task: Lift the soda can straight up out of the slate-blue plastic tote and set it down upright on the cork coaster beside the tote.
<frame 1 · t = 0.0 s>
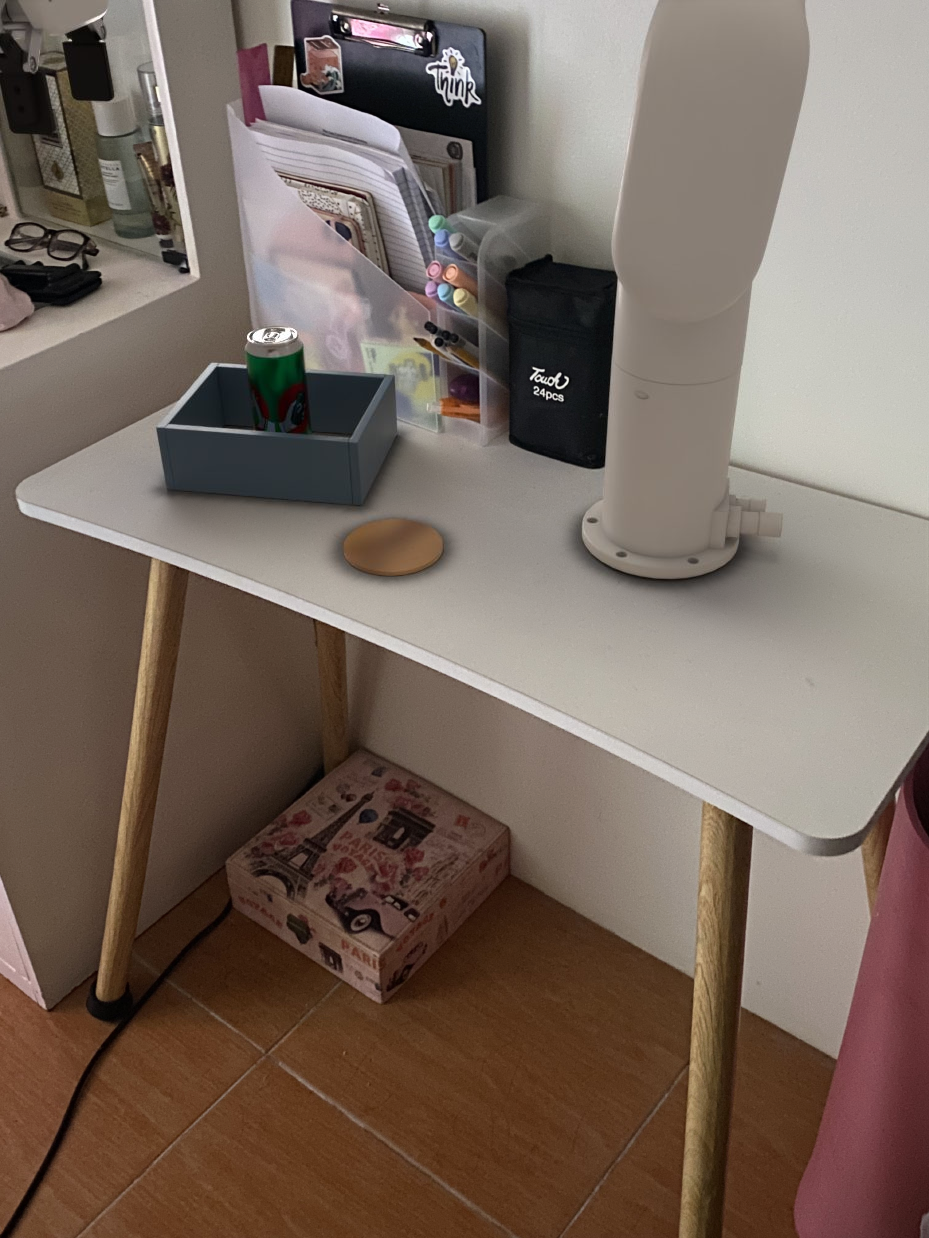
hand: (65, 116, 88), 31 cm above the table, tool pointing down, fingers open, 9 cm apart
soda can: (286, 462, 111), resting in tote
tote: (286, 460, 111), on the table
coaster: (393, 548, 98), on the table
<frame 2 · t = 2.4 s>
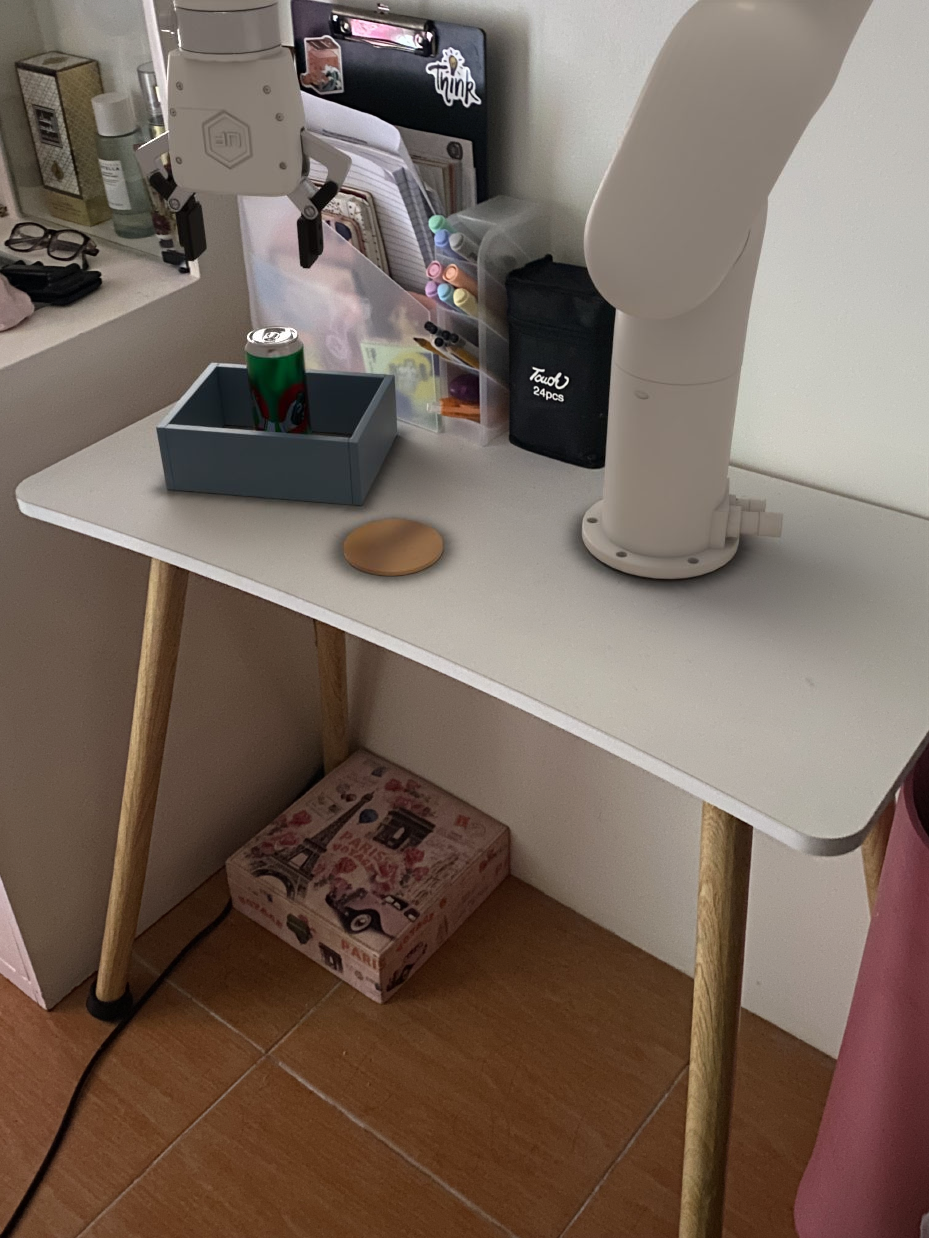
hand: (252, 259, 100), 19 cm above the table, tool pointing down, fingers open, 9 cm apart
nothing on the table moved.
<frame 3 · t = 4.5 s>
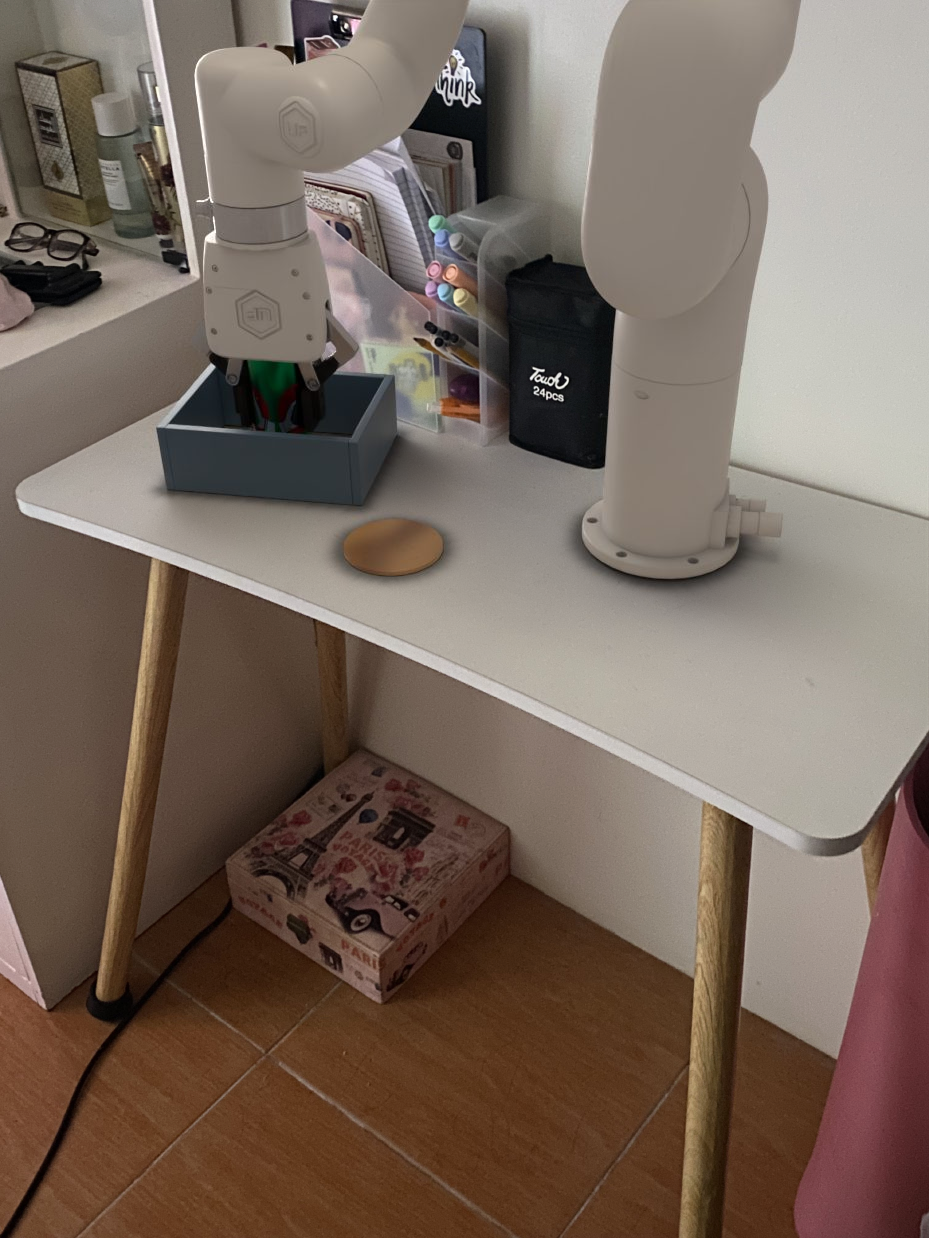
hand: (282, 421, 109), 4 cm above the table, tool pointing down, fingers closed on soda can, 5 cm apart
soda can: (286, 462, 111), resting in tote, touching gripper
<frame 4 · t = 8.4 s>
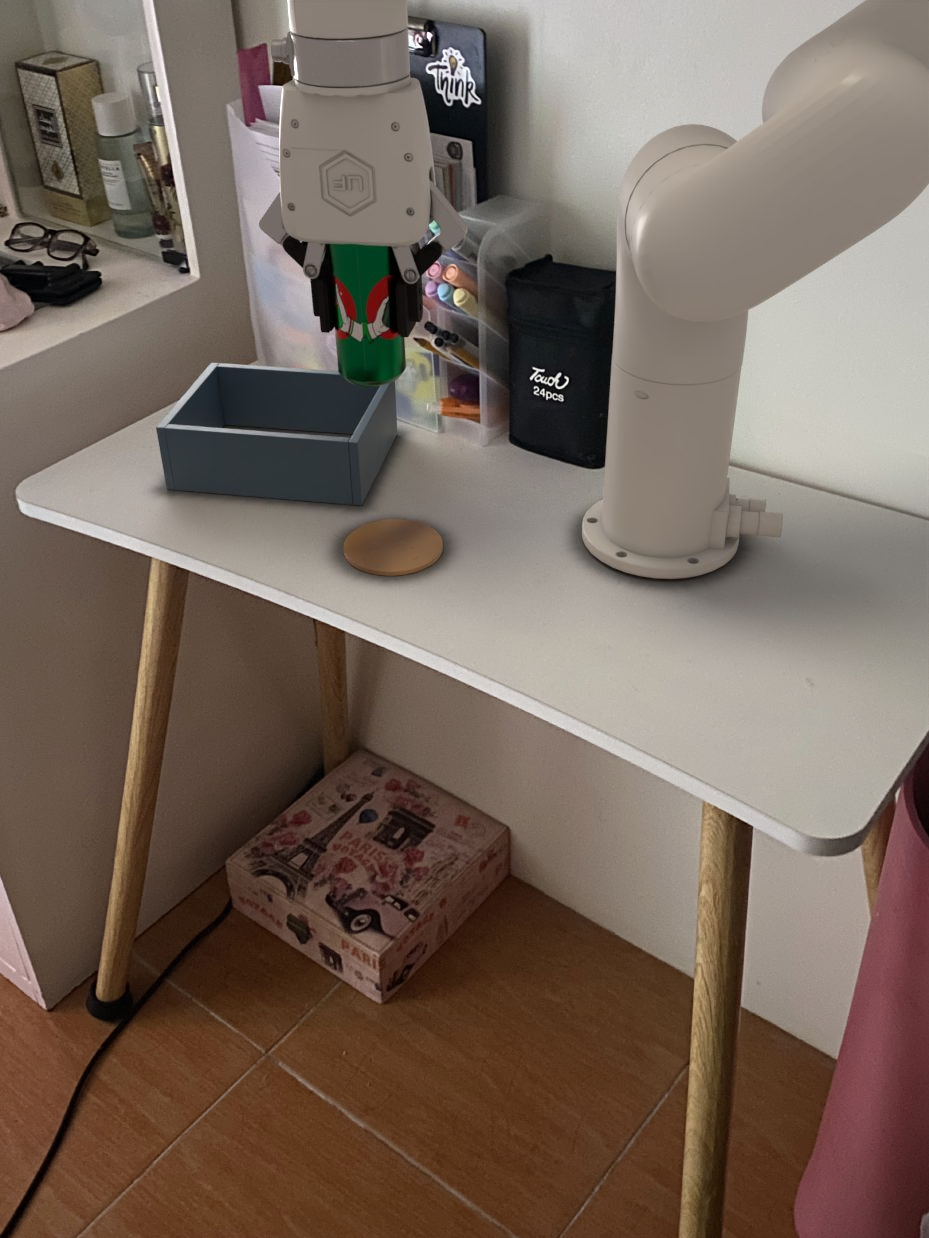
hand: (369, 325, 89), 18 cm above the table, tool pointing down, fingers closed on soda can, 5 cm apart
soda can: (372, 377, 92), point 14 cm above the table, touching gripper
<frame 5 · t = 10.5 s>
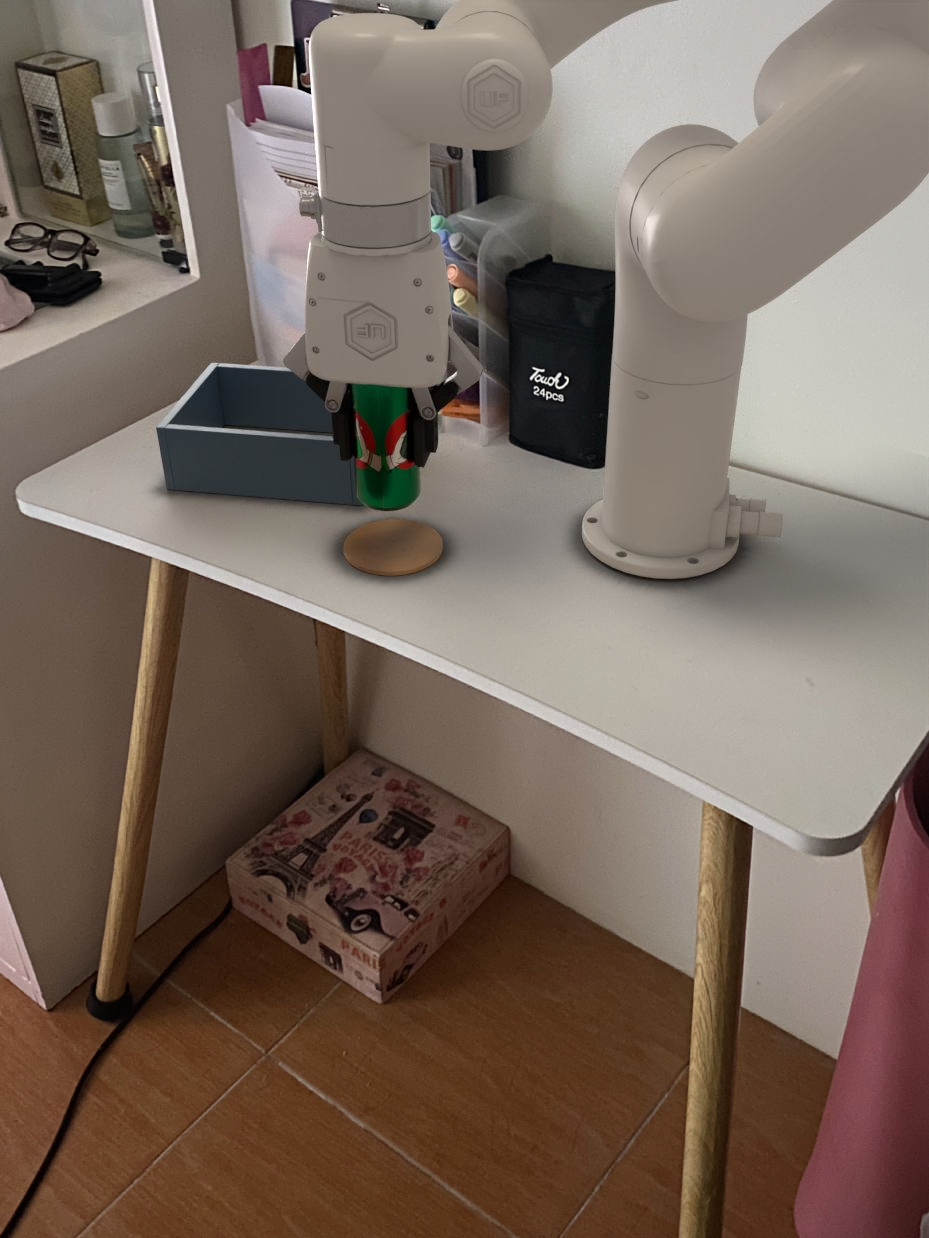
hand: (386, 453, 93), 9 cm above the table, tool pointing down, fingers closed on soda can, 5 cm apart
soda can: (388, 500, 96), point 4 cm above the table, touching gripper
when the fingers open (4 cm above the table, at t = 12.1 s): soda can stays where it is, resting on coaster.
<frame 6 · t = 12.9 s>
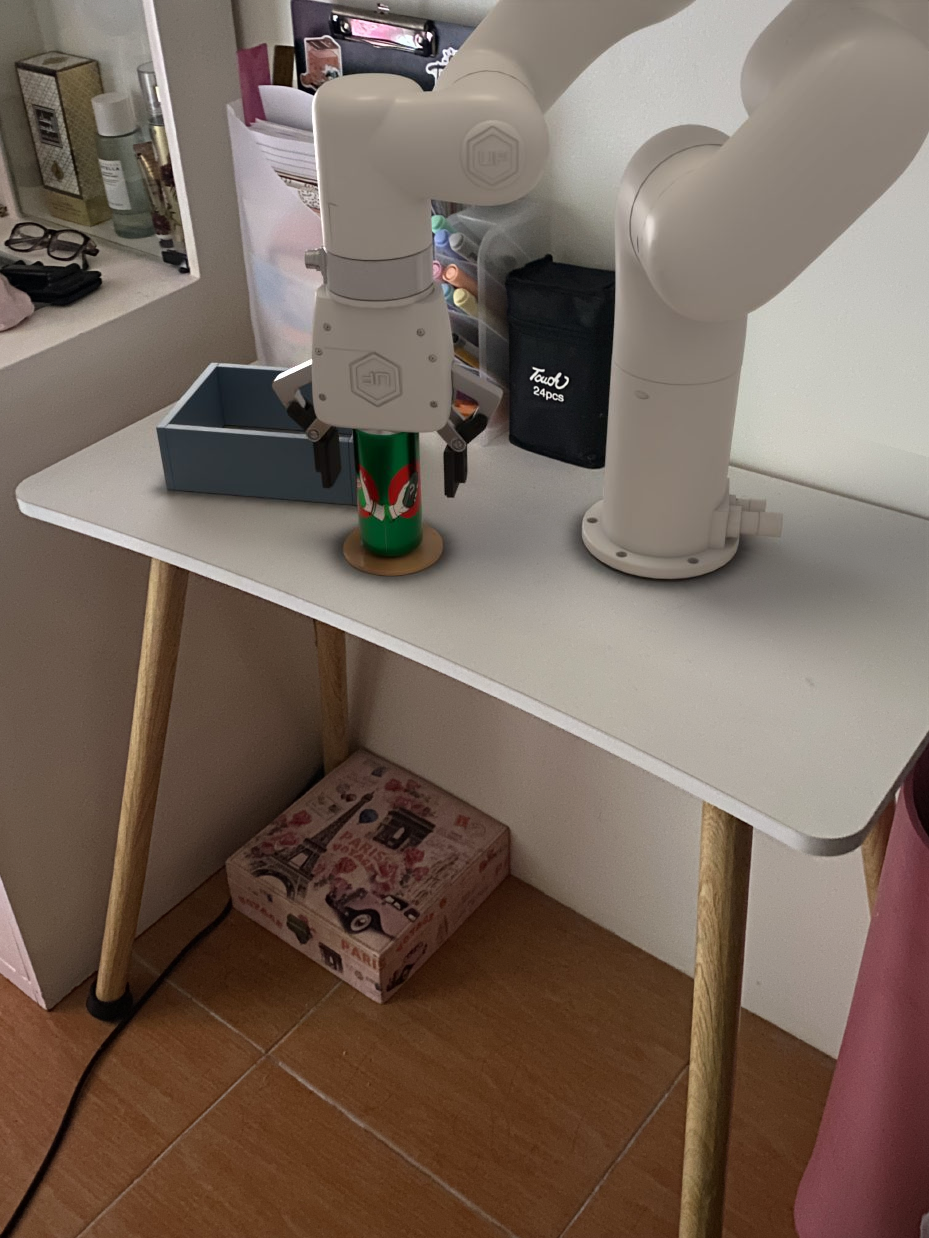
hand: (392, 484, 95), 6 cm above the table, tool pointing down, fingers open, 9 cm apart
soda can: (391, 546, 98), resting on coaster
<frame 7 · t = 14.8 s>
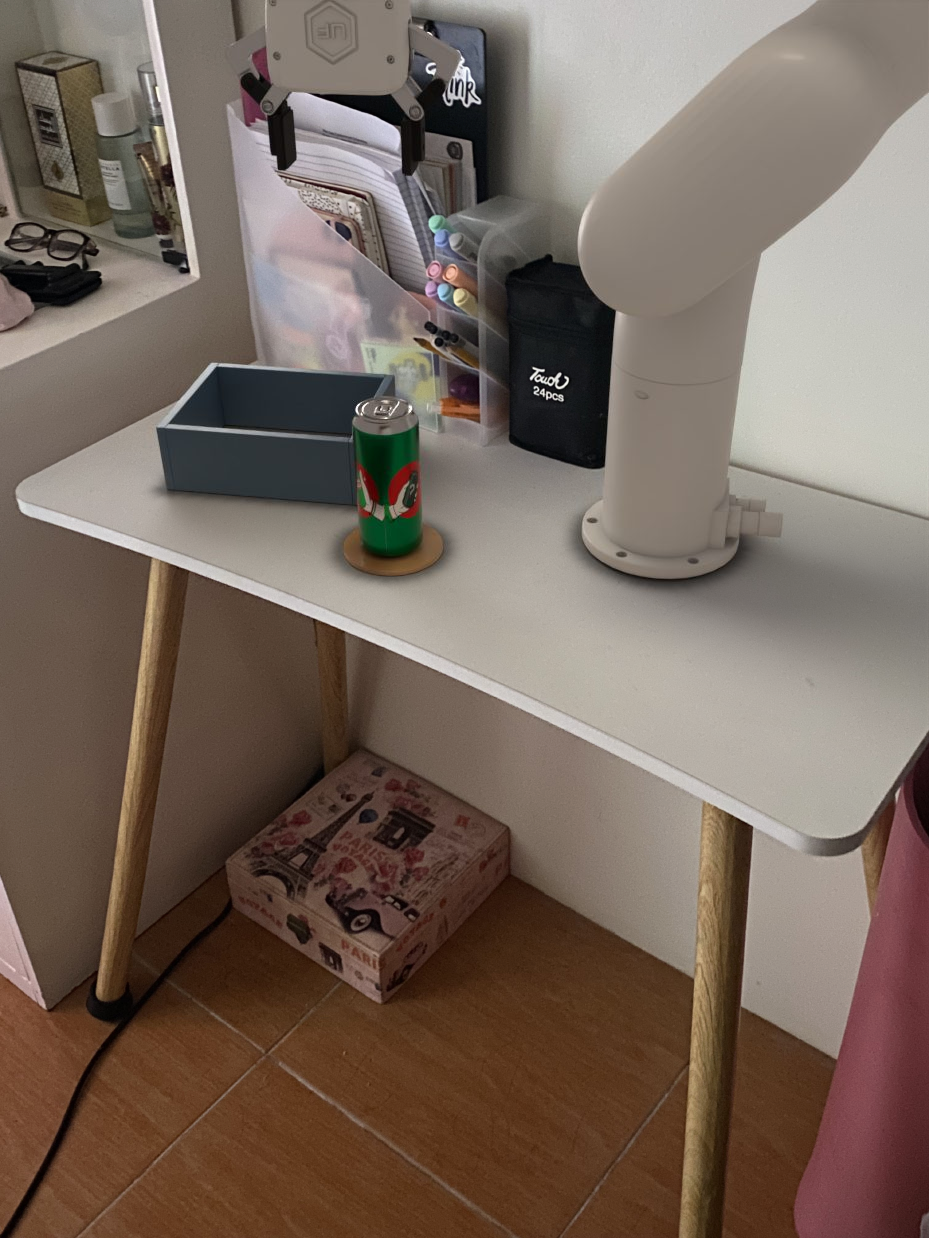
hand: (348, 168, 94), 26 cm above the table, tool pointing down, fingers open, 9 cm apart
nothing on the table moved.
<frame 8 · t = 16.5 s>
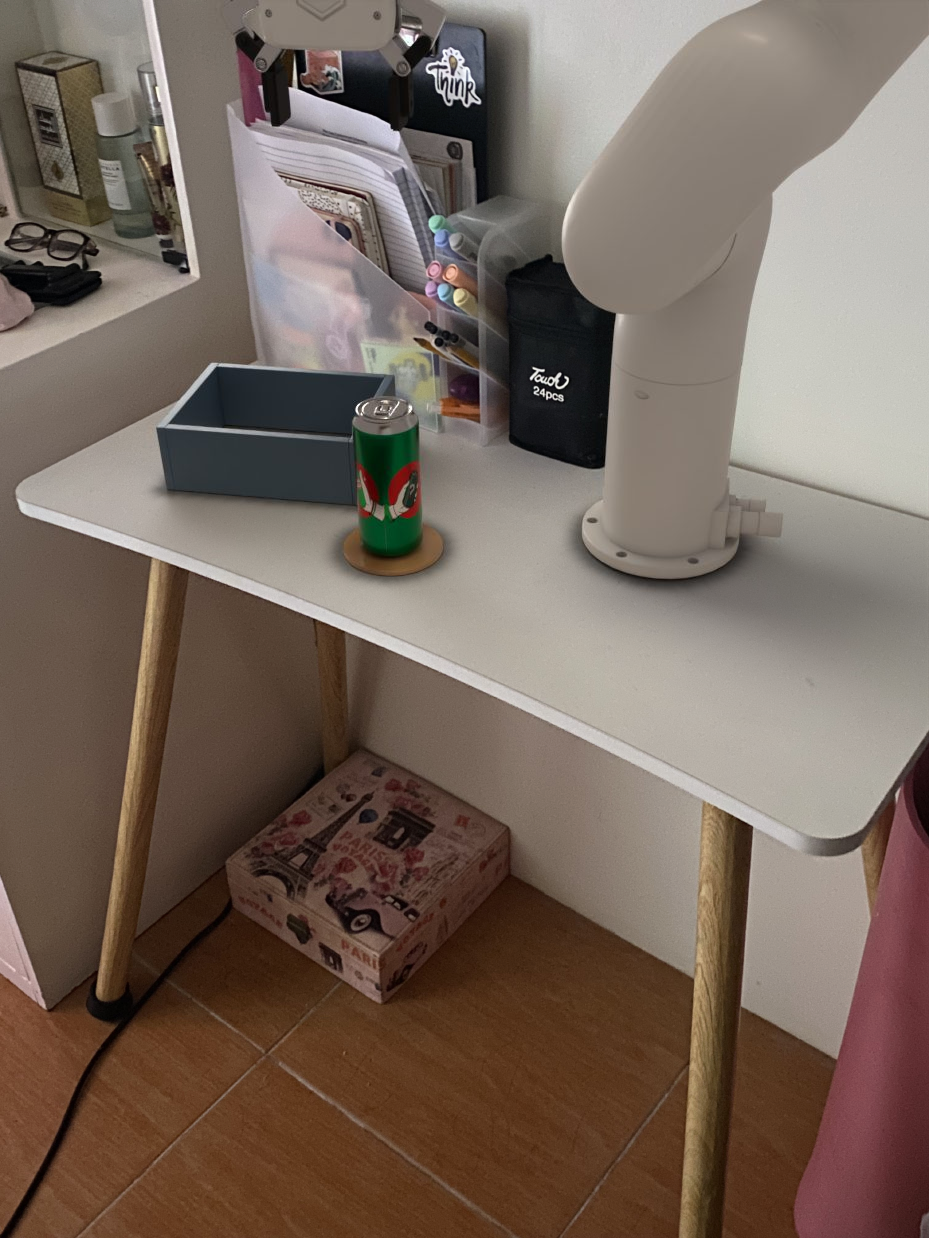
hand: (340, 125, 97), 28 cm above the table, tool pointing down, fingers open, 9 cm apart
nothing on the table moved.
at the end: soda can 0.1 cm off-centre on the coaster, point 0.2 cm above the coaster's base; soda can tilted 0°; the gripper is holding nothing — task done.
